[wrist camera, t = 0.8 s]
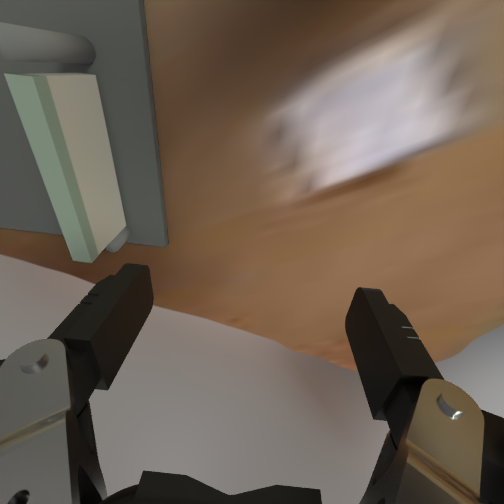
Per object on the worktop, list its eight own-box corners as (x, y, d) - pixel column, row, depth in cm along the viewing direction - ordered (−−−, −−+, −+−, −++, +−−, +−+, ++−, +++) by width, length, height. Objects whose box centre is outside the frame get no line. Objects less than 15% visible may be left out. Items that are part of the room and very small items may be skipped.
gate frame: (-170, -74, 19) (-470, -171, 12) (139, -39, 19) (47, -113, 11) (-11, 221, 33) (-98, 267, 26) (168, 243, 33) (136, 295, 26)
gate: (75, 72, 22) (3, 73, 16) (96, 75, 22) (32, 76, 16) (111, 223, 31) (72, 260, 25) (127, 225, 31) (91, 262, 25)
